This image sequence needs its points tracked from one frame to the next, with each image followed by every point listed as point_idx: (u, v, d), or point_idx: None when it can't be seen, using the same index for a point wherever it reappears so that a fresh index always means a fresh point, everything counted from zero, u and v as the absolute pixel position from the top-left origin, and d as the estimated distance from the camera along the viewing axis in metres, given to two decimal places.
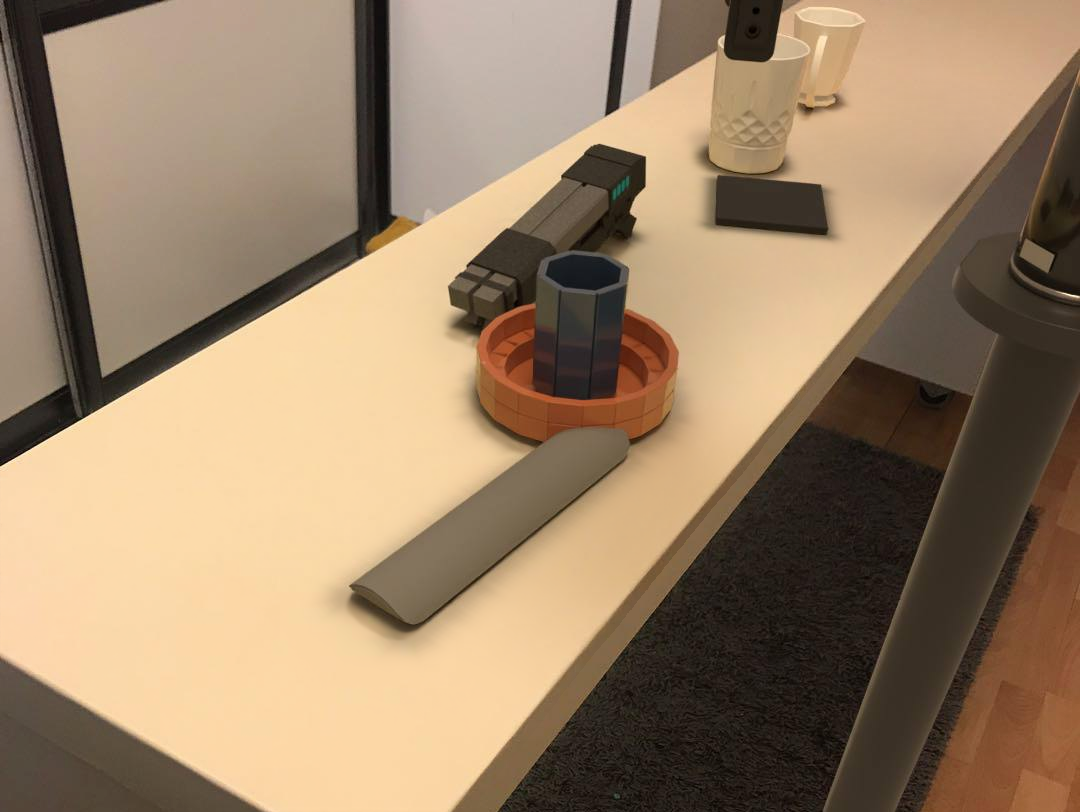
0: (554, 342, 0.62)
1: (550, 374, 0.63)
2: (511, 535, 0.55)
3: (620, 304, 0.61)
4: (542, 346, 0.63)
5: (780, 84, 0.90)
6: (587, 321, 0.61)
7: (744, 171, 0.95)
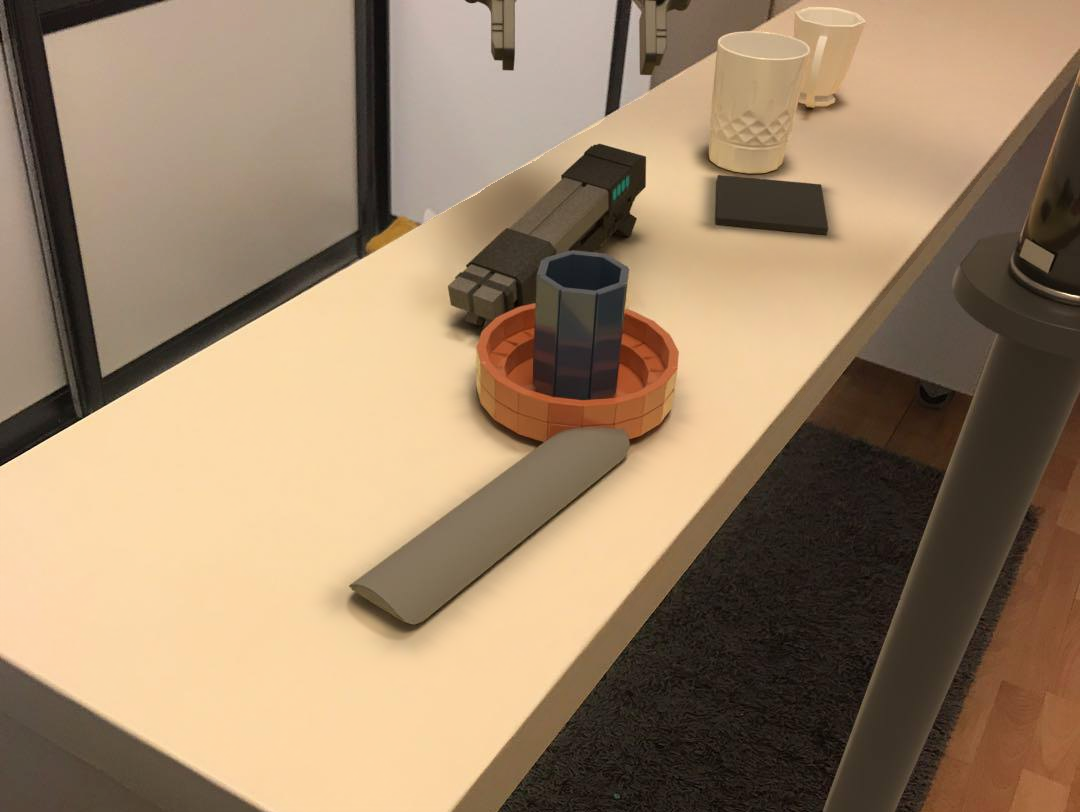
0: (554, 342, 0.62)
1: (550, 374, 0.63)
2: (511, 535, 0.55)
3: (620, 304, 0.61)
4: (542, 346, 0.63)
5: (780, 84, 0.90)
6: (587, 321, 0.61)
7: (744, 171, 0.95)
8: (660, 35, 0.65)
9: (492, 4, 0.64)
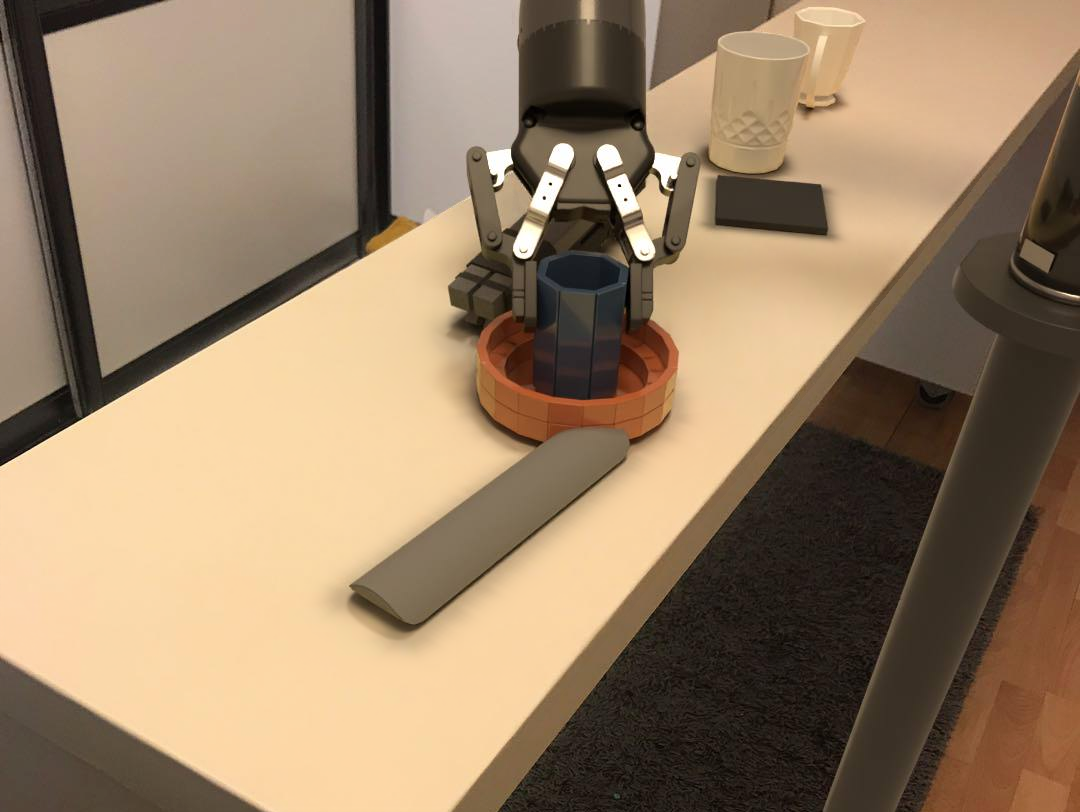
0: (554, 342, 0.62)
1: (550, 374, 0.63)
2: (511, 535, 0.55)
3: (620, 304, 0.61)
4: (542, 346, 0.63)
5: (780, 84, 0.90)
6: (587, 321, 0.60)
7: (744, 171, 0.95)
8: (646, 298, 0.61)
9: (513, 269, 0.61)
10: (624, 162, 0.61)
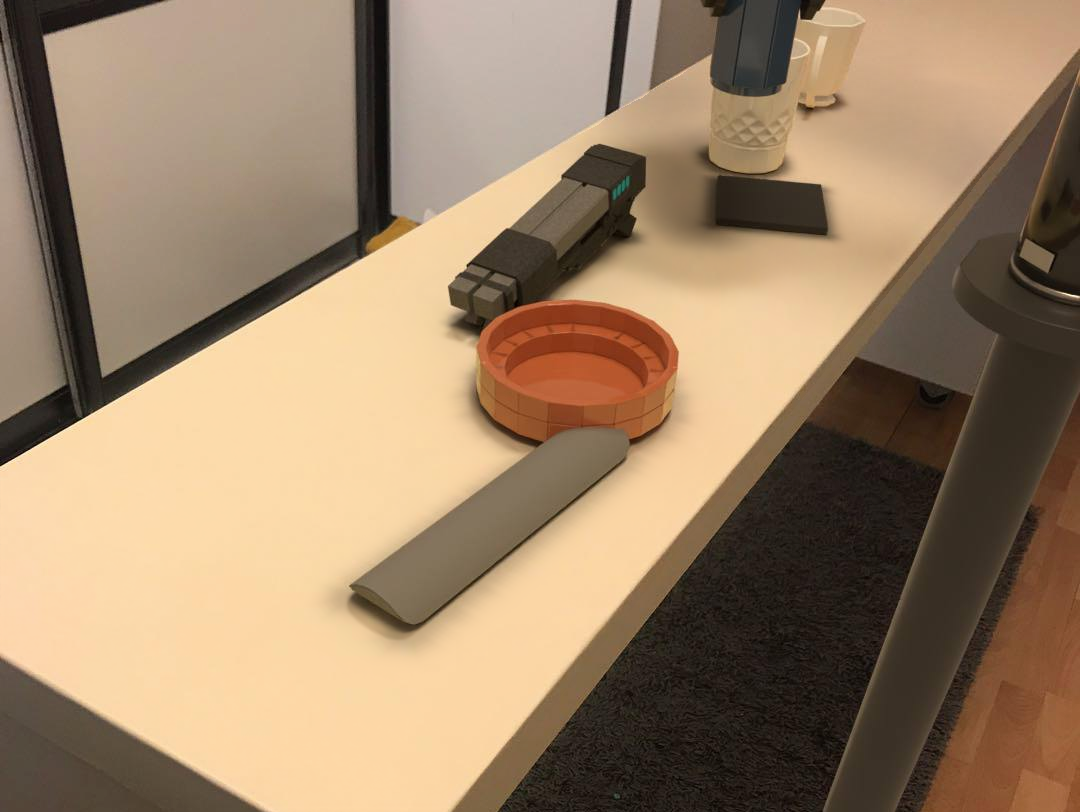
0: (739, 22, 0.69)
1: (731, 58, 0.71)
2: (511, 535, 0.55)
3: None
4: (725, 31, 0.70)
5: None
6: None
7: (744, 171, 0.95)
8: None
9: None
10: None
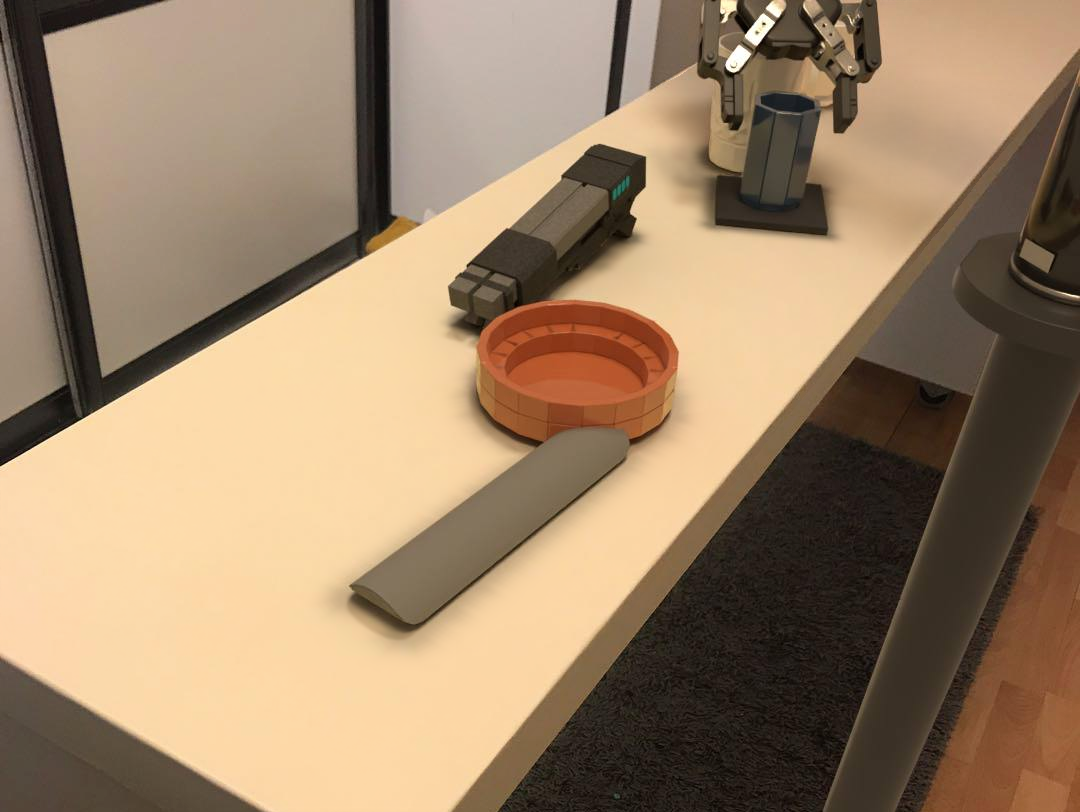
0: (765, 154, 0.85)
1: (758, 182, 0.87)
2: (511, 535, 0.55)
3: (815, 125, 0.84)
4: (753, 160, 0.86)
5: (780, 84, 0.90)
6: (792, 136, 0.84)
7: None
8: (852, 104, 0.84)
9: (725, 81, 0.84)
10: None
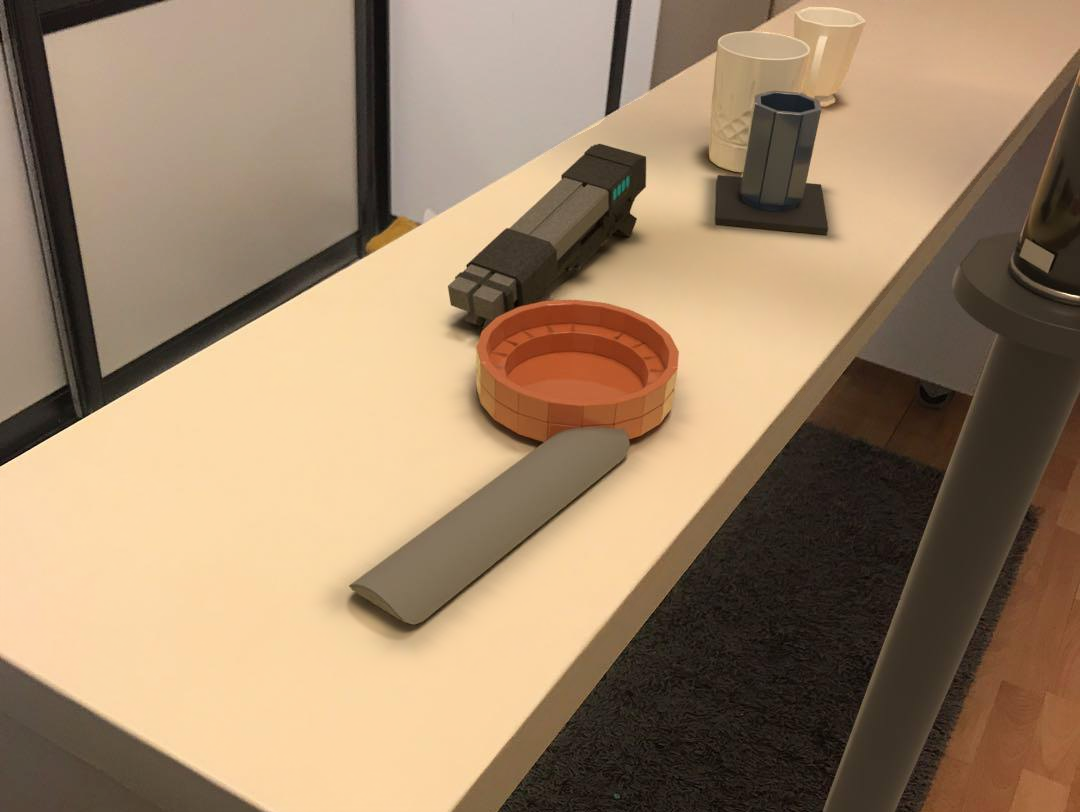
0: (765, 154, 0.85)
1: (758, 182, 0.87)
2: (511, 535, 0.55)
3: (815, 125, 0.84)
4: (753, 160, 0.86)
5: (780, 84, 0.90)
6: (792, 136, 0.84)
7: None
8: None
9: None
10: None
